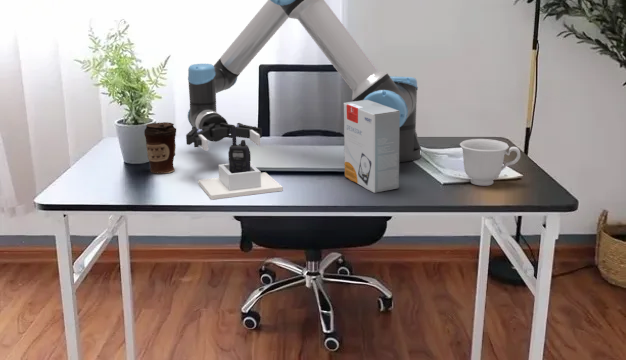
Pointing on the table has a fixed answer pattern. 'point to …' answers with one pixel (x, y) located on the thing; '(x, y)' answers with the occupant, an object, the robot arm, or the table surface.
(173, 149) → the coffee cup
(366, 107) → the hard drive box
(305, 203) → the table surface
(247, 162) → the two-way radio
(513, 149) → the teacup
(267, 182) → the charging cradle
